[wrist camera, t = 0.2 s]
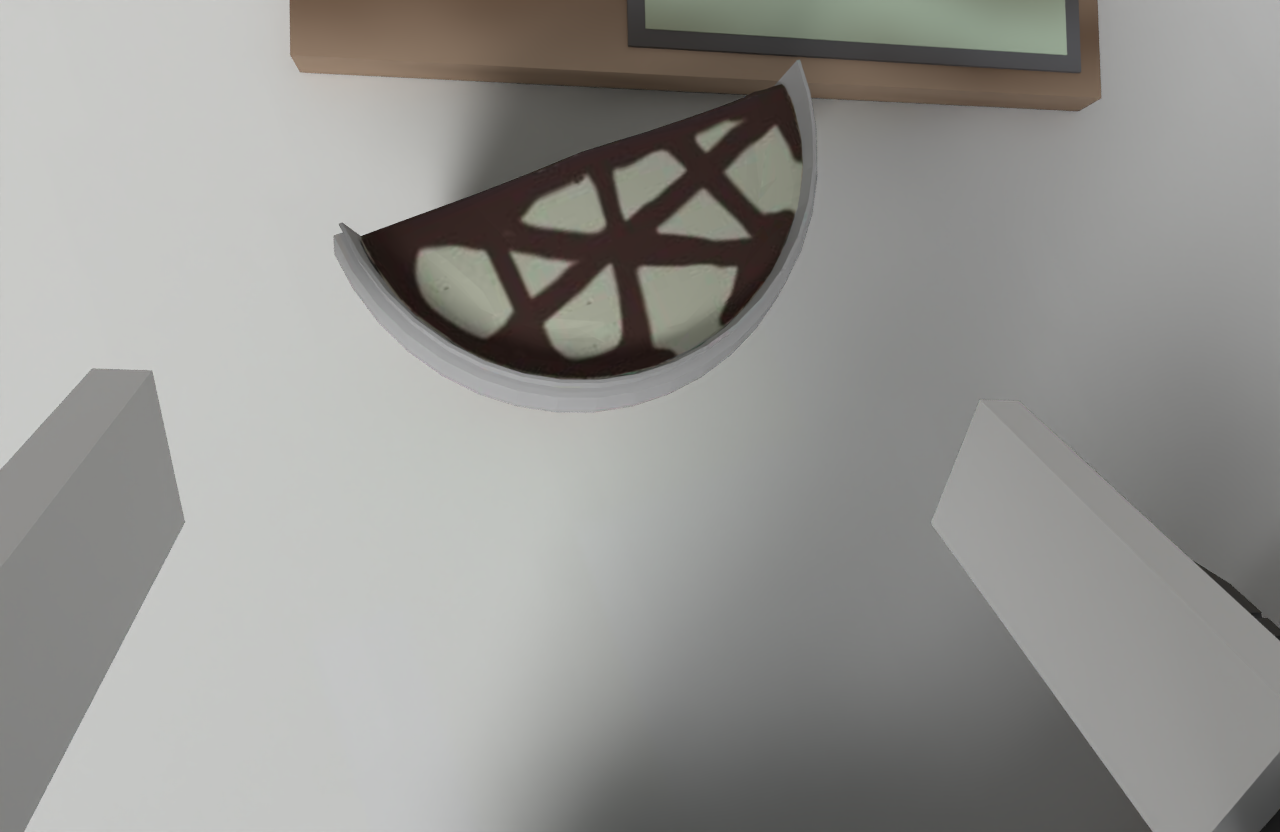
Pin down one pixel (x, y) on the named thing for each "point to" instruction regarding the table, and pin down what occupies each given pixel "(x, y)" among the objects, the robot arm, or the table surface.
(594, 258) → the food container
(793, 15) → the picture board
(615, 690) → the table surface
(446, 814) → the table surface
